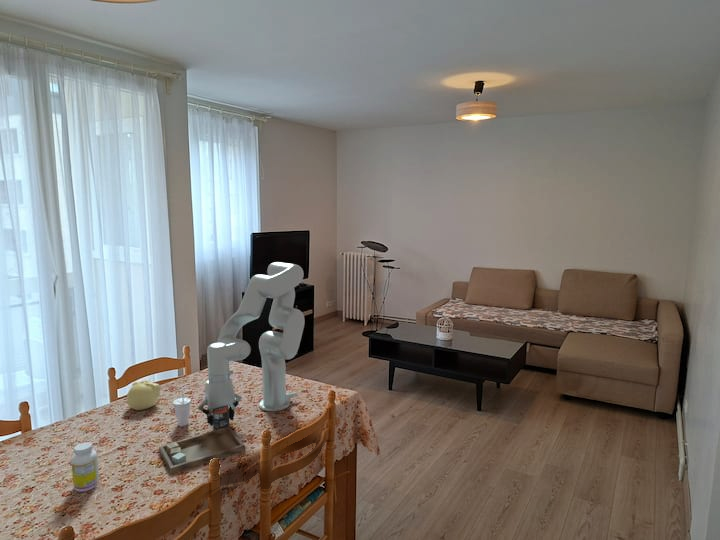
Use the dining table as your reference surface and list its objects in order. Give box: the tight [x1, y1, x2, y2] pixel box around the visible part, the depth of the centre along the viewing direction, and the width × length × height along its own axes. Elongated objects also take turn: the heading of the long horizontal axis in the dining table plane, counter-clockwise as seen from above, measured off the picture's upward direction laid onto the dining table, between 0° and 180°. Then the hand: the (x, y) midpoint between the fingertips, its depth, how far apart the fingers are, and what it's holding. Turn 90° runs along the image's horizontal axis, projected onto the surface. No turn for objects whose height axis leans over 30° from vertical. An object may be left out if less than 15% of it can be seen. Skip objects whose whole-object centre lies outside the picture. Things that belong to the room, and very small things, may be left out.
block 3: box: [172, 452, 186, 466], centre depth 150 cm, size 3×3×3 cm
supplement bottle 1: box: [70, 441, 100, 492], centre depth 139 cm, size 7×7×13 cm
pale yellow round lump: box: [126, 379, 161, 411], centre depth 193 cm, size 11×12×11 cm
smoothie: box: [172, 389, 192, 427], centre depth 177 cm, size 6×6×14 cm
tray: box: [158, 426, 246, 474], centre depth 159 cm, size 24×16×2 cm, turn 125°
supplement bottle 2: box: [211, 405, 230, 431], centre depth 175 cm, size 6×6×11 cm
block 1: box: [166, 441, 179, 457], centre depth 157 cm, size 3×3×3 cm
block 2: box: [171, 447, 181, 462], centre depth 154 cm, size 3×3×3 cm
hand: (221, 421), depth 175 cm, fingers open, 7 cm apart
